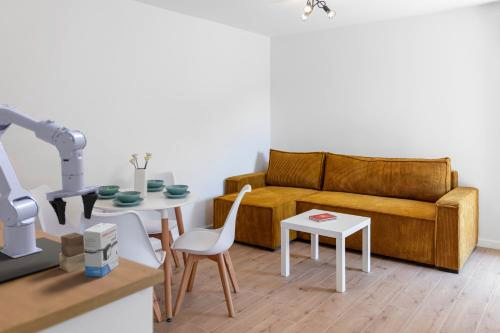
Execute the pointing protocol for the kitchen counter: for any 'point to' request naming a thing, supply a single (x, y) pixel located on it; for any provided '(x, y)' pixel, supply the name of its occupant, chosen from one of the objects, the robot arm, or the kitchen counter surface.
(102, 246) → the ink box
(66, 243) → the walnut block
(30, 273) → the kitchen counter surface
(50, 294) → the kitchen counter surface
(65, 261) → the base block
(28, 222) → the robot arm
